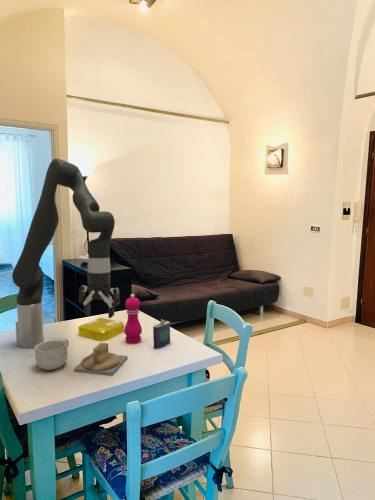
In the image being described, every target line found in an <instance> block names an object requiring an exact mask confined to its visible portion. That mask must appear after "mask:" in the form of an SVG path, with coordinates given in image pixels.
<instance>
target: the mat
mask: <svg viewBox="0 0 375 500" xmlns="http://www.w3.org/2000/svg"><path fill="white" fill-rule="evenodd" d="M91 354H93V352H91V353H90V354H89V355H91ZM117 355H118V356H119V357H120V363H119V364H118V365H117V366H116V367H114V368H111V369H108V370H102V371H92V370H88V369H85V368H84V367H83V366H82V361H81V362H80V363H79V364H77V365H76V366H75V367H74V368H73V372H74V373H83V374H90V375H91V374H92V375H103V376H111V377H113V376H114V375H115V373H117V371H118V370H119V369H120V368H121V367H122V366H123V364H124V363H125V362H126V361H127V360H128V359H129V357H128V355H121V354H117Z"/></svg>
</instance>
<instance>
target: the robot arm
mask: <svg viewBox="0 0 375 500" xmlns="http://www.w3.org/2000/svg"><path fill="white" fill-rule="evenodd" d="M58 186H60V187H65V188H68V189H70V190H71V191H72V192H73V193H72V203H73V205H74V206H75V208H76V210H77V211H78V213H79V215H80V218H81V224H82V228H83V229H84V231H86V232H88V233H92V234H93V233H99V236H98V237H97V238H94V239H91V240H89V241H88V244H87V248H88V249H87V258H88V260H87V284H88V285H87V286H86V285H85V284H83V285H81V286H79V287H78V289H79V290H78V303H79V304H82V305H83V310H84V311H83V312H84V314H85V316H86V317H89V316H90V315H91V302H92V300H99V301H104V303H106V304H107V306H108V308H107V309H108V310H107V311H108V313H107V314H108V319H111V318H113V317H114V316H115V307H117V306H119V305H120V304H121V299H120V288H119V287H114V288H113V287H111V260H110V244H111V240H112V237H113V232H114V229H115V224H116V221H115V218H114V214H113V213H111V212H110V211H103V210H102V211H100V205H99V203H98V201H97V200H96V199H95V197H94V196H93V195H92V193H91V192H90V190H89V188H88V186H87V184H86V181H85V179H84V177H83V175H82V172H81V170H80V168H79V167H78V165H75V164H73V163H71V162H68V161H66V160H63V159H61V158H54V159H52V160H51V161H50V163H49V165H48V167H47V170H46V173H45V177H44V181H43V186H42V190H41V194H40V197H39V199H38V203H37V205H36V209H35V212H34V215H33V217H32V219H31V221H30V222H31V223H30V226H29V229H28V232H27V235H26V238H25V241H24V245H23V248H22V251H21V254H20V256H19V258H18V260H17V262H16V265H14V269H13V271H12V275H11V276H12V278H11V279H12V281H13V283H14V285H16V286H17V287H18V288H19V291H18V293H17V295H16V312H17V321H15V338H16V346H19V347H20V348H24V349H25V348H26V349H32V348H34V347H35V346H36V345H38V344H39V343H42V342H45V340H44V324H43V323H44V319H43V301H42V299H43V294H44V274H43V270H42V267H41V266H40V261H41V259H42V257H43V255H44V253H45V251H46V250H47V248H48V247H49V245H50V243H52V240H53V238H54V236H55V233H56V231H57V227H58V225H59V220H60V217H59V212H58V208H57V207H58V206H57V204H56V191H57V188H58ZM86 293H88V296H87V297H86ZM110 293H111V295H113V297H112V296H111V295H110Z"/></svg>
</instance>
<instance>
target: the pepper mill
mask: <svg viewBox="0 0 375 500" xmlns="http://www.w3.org/2000/svg"><path fill="white" fill-rule="evenodd" d="M124 303H125V304H124V305H125V308H126V314H127V321H126V323H125V325H124V332H123V334H124V335H126V336H125V342H126V343H127V344H130V345H131V344H132V345H133V344H138V343H140V342H141V341H142V337H141V335H142V332H143V329H142V325H141V323H140V319H139V313H140V309H139V308H140V306H141V301H140V300H139V298H137V297H135V294H134V293H131V294H130V297H128V298H127V299H126V300H125V302H124Z"/></svg>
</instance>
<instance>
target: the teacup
mask: <svg viewBox="0 0 375 500" xmlns="http://www.w3.org/2000/svg"><path fill="white" fill-rule="evenodd" d="M68 348H69V340H68V338H61V339H51V340H46V341H45V340H44V342H42V343H39V344H38V345H36V346H35V347H33V351H34V356H35V358H34V359H35V362H36V364H37V366H38V367H39V368H40V369H43V370H45V371H52V370H56V369H59V368H61V367H62V366H63V365H64V364H65V363H66V362H67V361H68Z"/></svg>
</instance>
